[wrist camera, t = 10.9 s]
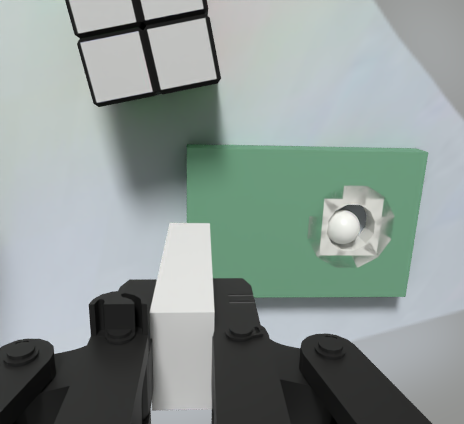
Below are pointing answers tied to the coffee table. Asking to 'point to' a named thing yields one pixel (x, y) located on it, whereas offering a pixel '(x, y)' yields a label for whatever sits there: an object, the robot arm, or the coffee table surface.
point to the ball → (343, 227)
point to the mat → (307, 216)
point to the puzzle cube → (143, 47)
